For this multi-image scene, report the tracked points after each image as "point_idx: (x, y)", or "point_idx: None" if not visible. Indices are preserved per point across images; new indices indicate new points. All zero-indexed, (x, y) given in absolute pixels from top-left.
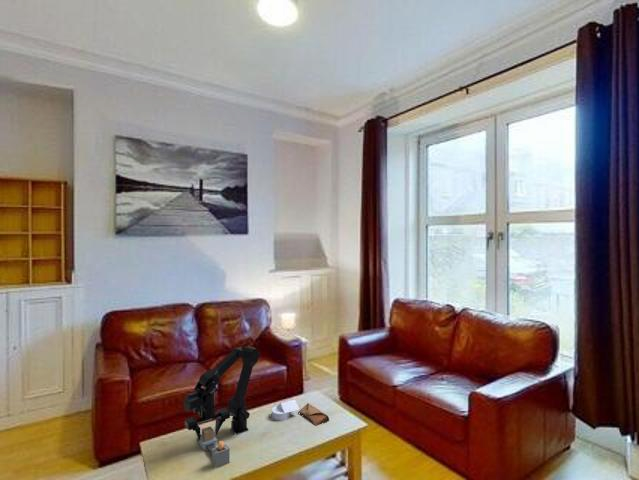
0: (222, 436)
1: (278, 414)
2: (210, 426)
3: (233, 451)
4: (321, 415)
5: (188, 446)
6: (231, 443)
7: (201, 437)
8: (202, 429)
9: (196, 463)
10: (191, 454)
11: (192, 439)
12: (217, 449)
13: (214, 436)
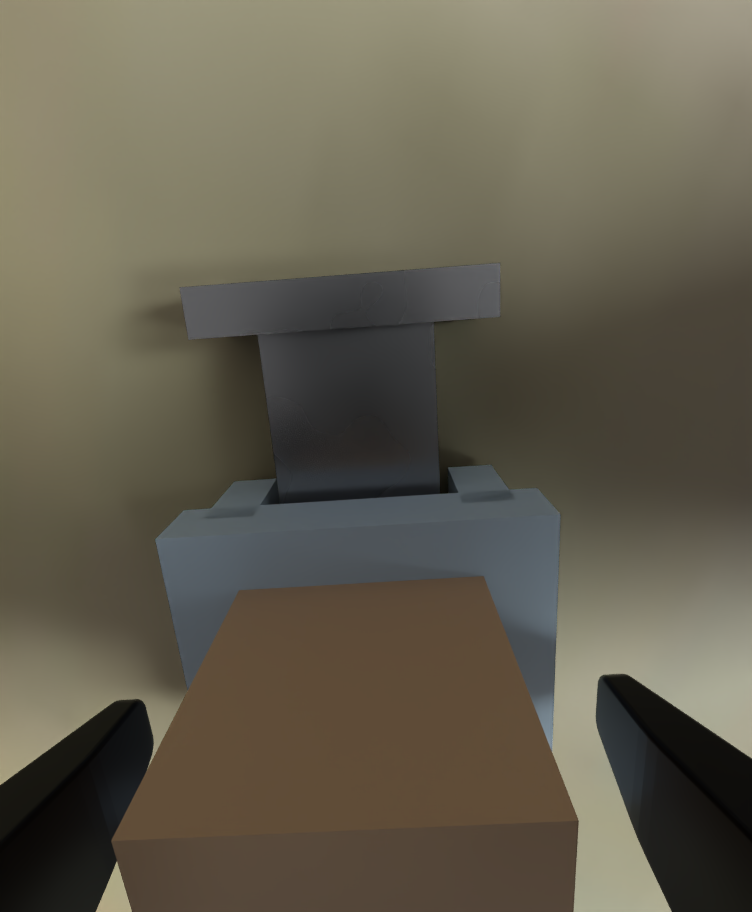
0: (741, 444)
1: None
2: (573, 824)
3: (658, 908)
4: None
5: (22, 448)
6: (747, 734)
7: (235, 571)
8: (139, 880)
9: (119, 906)
10: (65, 703)
11: (122, 207)
12: None
13: (546, 680)
